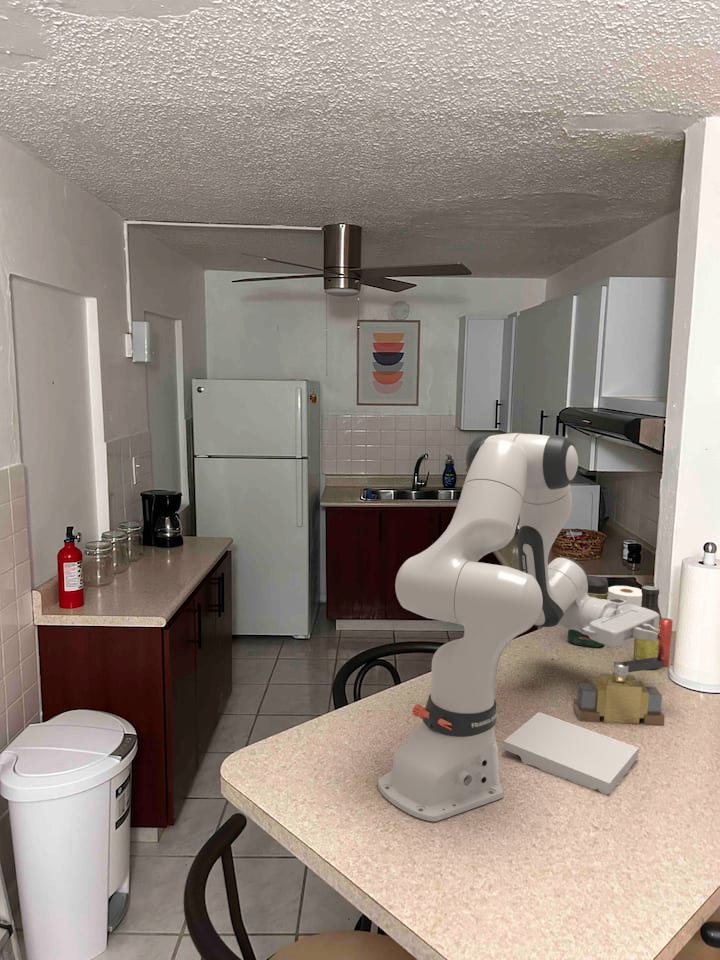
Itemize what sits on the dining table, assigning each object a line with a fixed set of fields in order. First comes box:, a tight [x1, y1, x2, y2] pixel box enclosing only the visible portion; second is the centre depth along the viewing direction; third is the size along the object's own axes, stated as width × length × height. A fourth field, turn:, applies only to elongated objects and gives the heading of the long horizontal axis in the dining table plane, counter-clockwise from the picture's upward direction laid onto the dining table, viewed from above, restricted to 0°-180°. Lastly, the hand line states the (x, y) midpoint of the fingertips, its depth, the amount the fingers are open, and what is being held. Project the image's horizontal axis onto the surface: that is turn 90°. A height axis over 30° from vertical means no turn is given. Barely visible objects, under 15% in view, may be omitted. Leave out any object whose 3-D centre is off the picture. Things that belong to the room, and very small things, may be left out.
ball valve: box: [572, 673, 666, 726], centre depth 148 cm, size 6×17×8 cm, turn 85°
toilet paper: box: [606, 585, 642, 607], centre depth 199 cm, size 10×10×12 cm
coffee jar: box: [567, 574, 609, 648], centre depth 190 cm, size 10×8×19 cm
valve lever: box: [612, 617, 673, 682], centre depth 149 cm, size 14×3×12 cm, turn 109°
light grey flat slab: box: [502, 711, 640, 796], centre depth 132 cm, size 15×3×20 cm
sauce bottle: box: [632, 585, 662, 670], centre depth 175 cm, size 7×6×20 cm
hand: (660, 636), depth 151 cm, fingers closed, pressing on valve lever
